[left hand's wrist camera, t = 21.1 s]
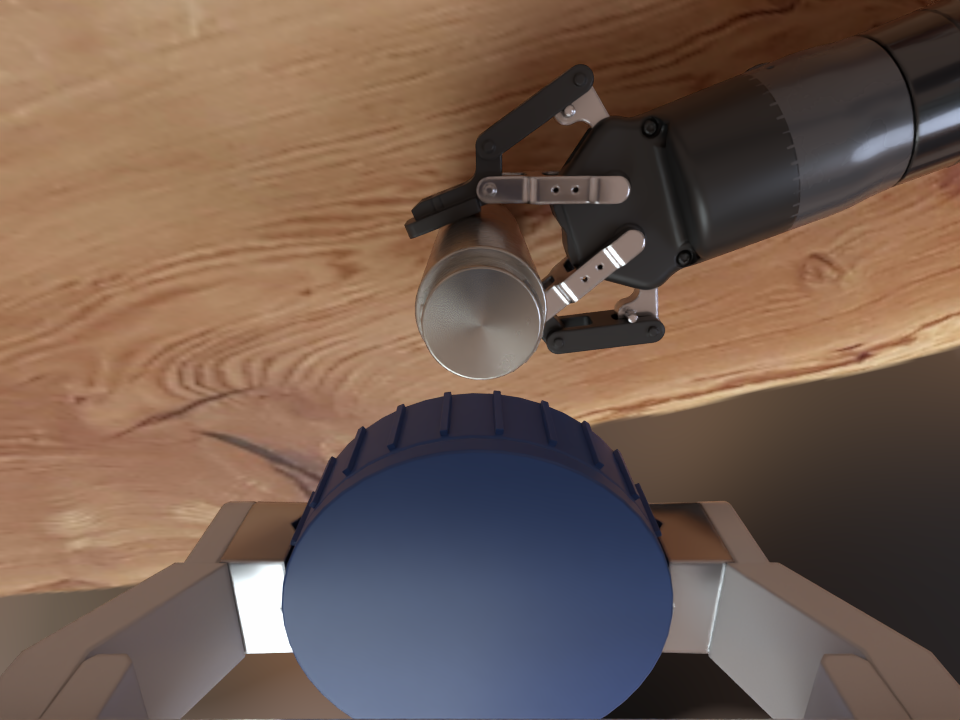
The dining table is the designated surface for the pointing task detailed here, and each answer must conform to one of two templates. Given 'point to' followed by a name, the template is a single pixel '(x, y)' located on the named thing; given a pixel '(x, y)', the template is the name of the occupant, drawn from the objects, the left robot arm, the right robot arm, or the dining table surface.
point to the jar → (481, 297)
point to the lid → (477, 568)
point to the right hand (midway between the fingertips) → (432, 280)
